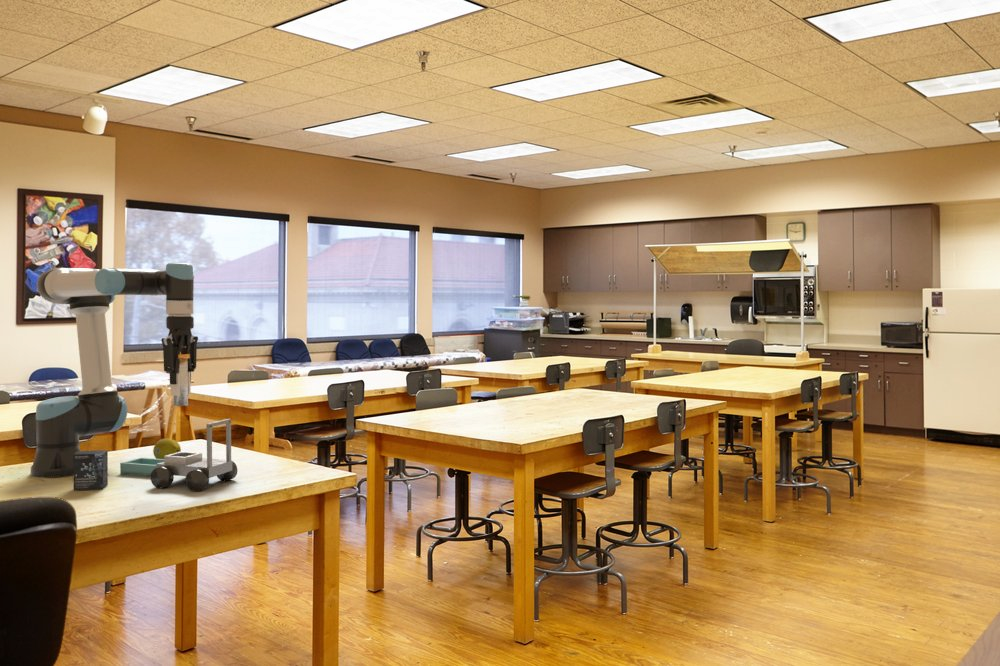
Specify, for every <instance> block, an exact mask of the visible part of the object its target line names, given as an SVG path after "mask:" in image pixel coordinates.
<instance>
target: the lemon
mask: <svg viewBox="0 0 1000 666" xmlns="http://www.w3.org/2000/svg"><path fill="white" fill-rule="evenodd" d="M177 452H182V450H181V446H180V444H179V442H178V441H177V440H174V439H173V438H161V439H159V440H158V441H157V442H155V444H154V446H153V449H152V453H153V457H154V459H164V456H166V455H170V454H174V453H177Z"/></svg>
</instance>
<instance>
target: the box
mask: <svg viewBox="0 0 1000 666" xmlns="http://www.w3.org/2000/svg"><path fill="white" fill-rule="evenodd" d="M108 456H109V455H108V450H107V449H103V450H101V449H100V450H99V449H98V450H96V449H95V450H94V449H93V450H80V451H78V452H76V453H75V454H74V455H73V466H74V467H73V468H74V475H73V491H85V490H86V491H87V490H88V491H89V490H90V491H91V490H94V491H95V490H104V489H105V488H107V486H108V483H109V481H108V480H109V478H108V475H109V473H108V466H109V465H108V458H109V457H108Z"/></svg>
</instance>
